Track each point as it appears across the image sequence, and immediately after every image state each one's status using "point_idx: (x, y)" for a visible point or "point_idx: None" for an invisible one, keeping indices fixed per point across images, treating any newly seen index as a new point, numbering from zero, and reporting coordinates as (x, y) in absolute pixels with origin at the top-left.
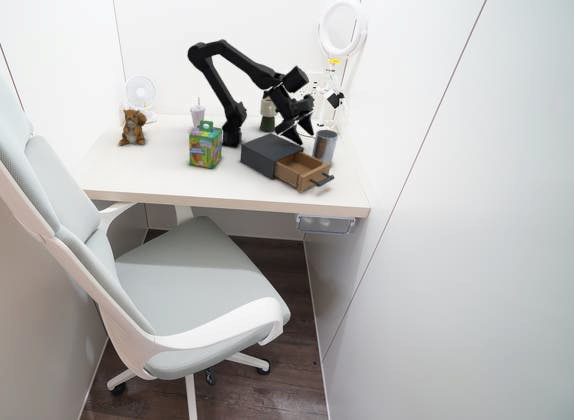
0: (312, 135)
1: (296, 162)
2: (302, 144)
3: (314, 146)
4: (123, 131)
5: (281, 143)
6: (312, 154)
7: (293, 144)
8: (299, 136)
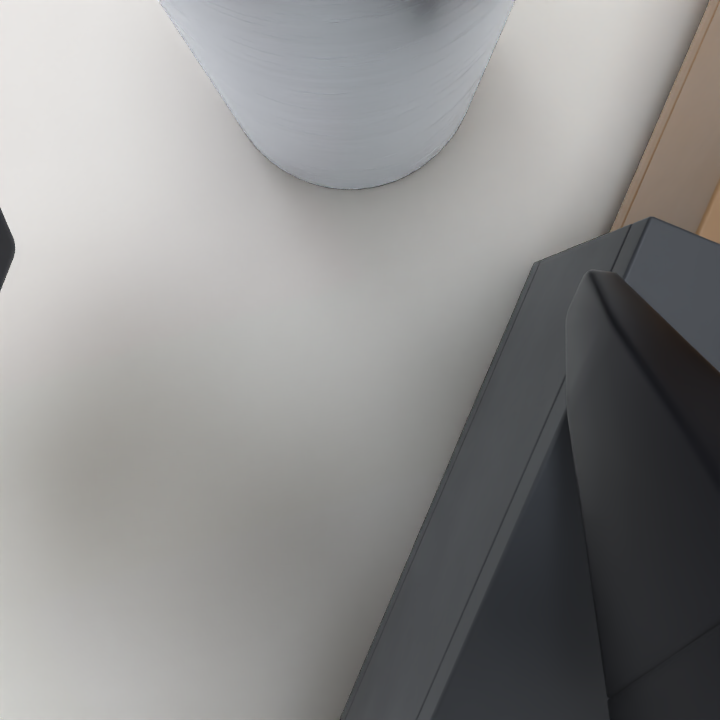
0: (5, 229)
1: None
2: (610, 276)
3: (452, 58)
4: None
5: None
6: (424, 131)
7: None
8: (684, 394)
